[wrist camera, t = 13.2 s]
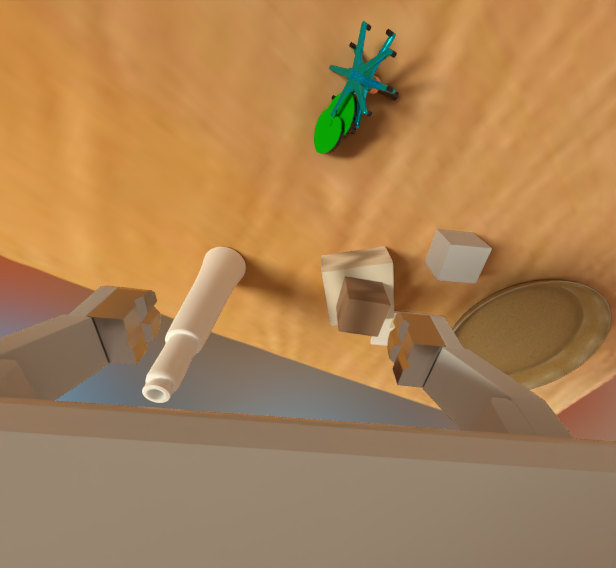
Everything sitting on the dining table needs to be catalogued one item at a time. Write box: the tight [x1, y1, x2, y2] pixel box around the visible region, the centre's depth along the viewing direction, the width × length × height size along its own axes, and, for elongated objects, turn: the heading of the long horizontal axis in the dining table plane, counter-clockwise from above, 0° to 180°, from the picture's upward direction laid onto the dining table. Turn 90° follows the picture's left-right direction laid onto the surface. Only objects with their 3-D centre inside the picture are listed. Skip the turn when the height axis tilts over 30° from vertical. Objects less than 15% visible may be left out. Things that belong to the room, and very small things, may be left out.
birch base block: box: [321, 246, 394, 326], centre depth 41 cm, size 9×9×5 cm
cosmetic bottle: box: [142, 247, 246, 403], centre depth 33 cm, size 6×6×22 cm
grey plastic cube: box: [425, 229, 492, 284], centre depth 38 cm, size 5×5×5 cm
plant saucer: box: [452, 280, 612, 390], centre depth 47 cm, size 24×24×3 cm
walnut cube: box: [336, 276, 391, 337], centre depth 37 cm, size 5×5×5 cm
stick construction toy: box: [314, 21, 398, 154], centre depth 30 cm, size 12×7×8 cm
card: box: [370, 311, 435, 345], centre depth 48 cm, size 10×7×1 cm
